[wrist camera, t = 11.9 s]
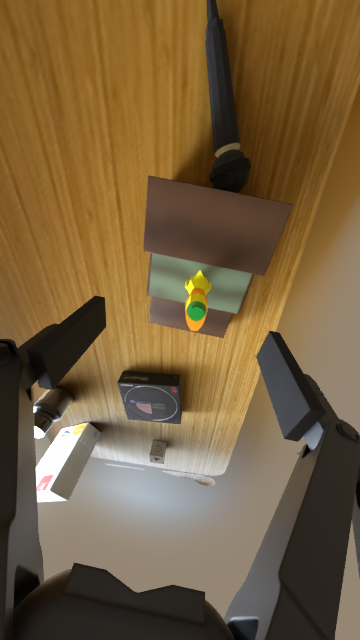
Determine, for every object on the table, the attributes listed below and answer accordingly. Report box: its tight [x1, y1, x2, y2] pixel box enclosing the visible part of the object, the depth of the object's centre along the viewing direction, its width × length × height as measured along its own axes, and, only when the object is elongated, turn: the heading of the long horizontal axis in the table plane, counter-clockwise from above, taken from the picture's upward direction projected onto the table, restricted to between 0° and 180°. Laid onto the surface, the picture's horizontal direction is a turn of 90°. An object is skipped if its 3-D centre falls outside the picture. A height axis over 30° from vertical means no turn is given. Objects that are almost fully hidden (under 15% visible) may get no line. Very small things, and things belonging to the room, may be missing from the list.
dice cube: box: [150, 440, 166, 464], centre depth 70 cm, size 5×5×5 cm
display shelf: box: [143, 176, 293, 338], centre depth 31 cm, size 24×16×12 cm, turn 170°
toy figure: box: [185, 270, 211, 331], centre depth 24 cm, size 7×4×12 cm, turn 177°
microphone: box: [205, 0, 251, 193], centre depth 24 cm, size 6×6×20 cm
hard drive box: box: [36, 422, 101, 502], centre depth 65 cm, size 16×8×20 cm, turn 119°
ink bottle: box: [34, 387, 73, 438], centre depth 58 cm, size 10×9×12 cm
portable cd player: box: [118, 371, 182, 424], centre depth 55 cm, size 16×17×4 cm
